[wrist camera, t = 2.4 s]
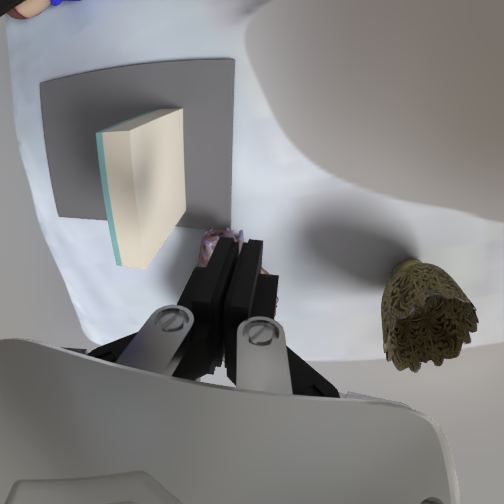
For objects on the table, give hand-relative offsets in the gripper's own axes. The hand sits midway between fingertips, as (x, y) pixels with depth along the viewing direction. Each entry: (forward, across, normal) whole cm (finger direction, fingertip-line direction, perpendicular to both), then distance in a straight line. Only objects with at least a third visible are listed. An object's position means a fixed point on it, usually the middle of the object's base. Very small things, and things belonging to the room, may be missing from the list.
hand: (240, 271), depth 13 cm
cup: (+12, -13, +7) cm, 19 cm away
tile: (+12, +7, -1) cm, 14 cm away
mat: (+12, +11, -2) cm, 16 cm away
